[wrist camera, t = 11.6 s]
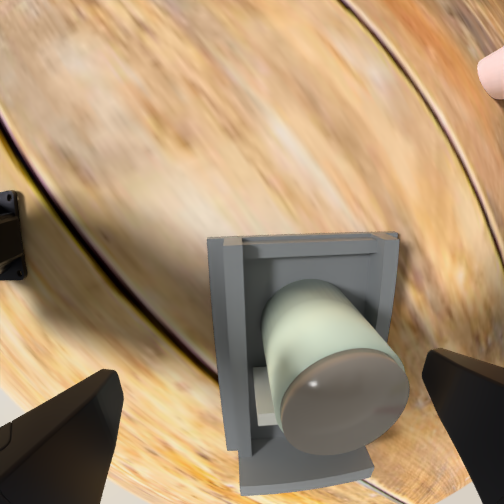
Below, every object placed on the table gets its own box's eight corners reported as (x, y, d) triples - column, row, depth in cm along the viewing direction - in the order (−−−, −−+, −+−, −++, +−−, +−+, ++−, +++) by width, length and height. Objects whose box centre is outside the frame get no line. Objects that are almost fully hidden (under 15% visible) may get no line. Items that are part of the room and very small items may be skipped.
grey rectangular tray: (227, 446, 23) (227, 496, 17) (207, 237, 18) (196, 261, 13) (361, 431, 23) (381, 474, 18) (394, 231, 19) (442, 250, 14)
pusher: (253, 378, 20) (258, 425, 15) (252, 367, 20) (257, 414, 15) (353, 368, 20) (377, 409, 16) (355, 357, 20) (380, 397, 16)
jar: (260, 364, 20) (275, 465, 12) (259, 281, 19) (278, 363, 10) (345, 356, 20) (395, 443, 12) (353, 276, 19) (427, 342, 10)
